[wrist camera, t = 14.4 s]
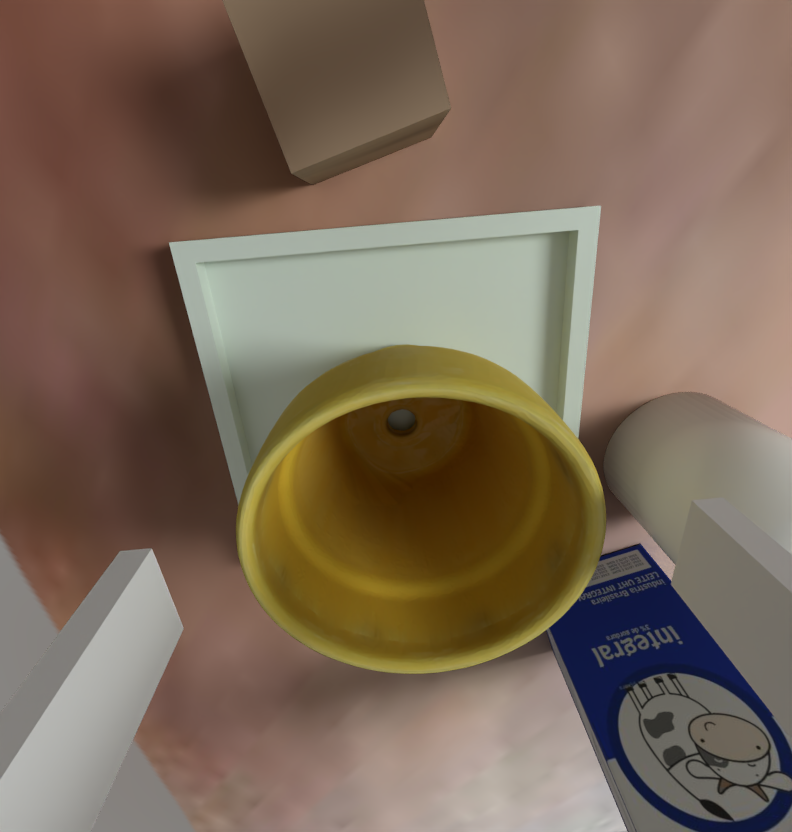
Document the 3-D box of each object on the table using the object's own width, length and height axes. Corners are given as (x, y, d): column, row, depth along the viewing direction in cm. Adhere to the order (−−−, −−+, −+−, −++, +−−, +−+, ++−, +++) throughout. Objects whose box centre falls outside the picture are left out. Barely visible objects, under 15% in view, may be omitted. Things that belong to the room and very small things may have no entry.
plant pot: (366, 534, 24) (361, 721, 15) (248, 377, 20) (147, 502, 11) (543, 447, 22) (656, 599, 13) (451, 257, 19) (523, 291, 10)
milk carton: (550, 652, 29) (844, 1373, 11) (525, 579, 27) (857, 1369, 8) (658, 620, 29) (1166, 1337, 10) (643, 542, 26) (1293, 1318, 8)
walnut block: (255, 36, 16) (207, -38, 11) (387, -22, 15) (392, -124, 11) (312, 185, 18) (291, 173, 13) (431, 137, 17) (451, 108, 13)
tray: (184, 241, 18) (168, 242, 17) (584, 206, 19) (600, 205, 17) (263, 557, 25) (257, 576, 24) (557, 530, 25) (567, 547, 24)
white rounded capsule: (611, 398, 22) (751, 503, 14) (751, 385, 22) (973, 483, 14) (596, 514, 25) (705, 659, 17) (720, 503, 25) (889, 641, 17)
